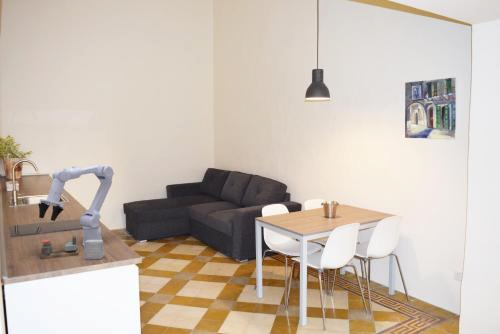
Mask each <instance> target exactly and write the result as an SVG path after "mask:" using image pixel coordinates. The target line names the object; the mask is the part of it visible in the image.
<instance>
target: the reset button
mask: <svg viewBox="0 0 500 334" xmlns="http://www.w3.org/2000/svg"><path fill="white" fill-rule="evenodd" d="M50 242H51V239H48V238H45V239H42V240H41V243H42V244H43V243H50Z"/></svg>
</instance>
